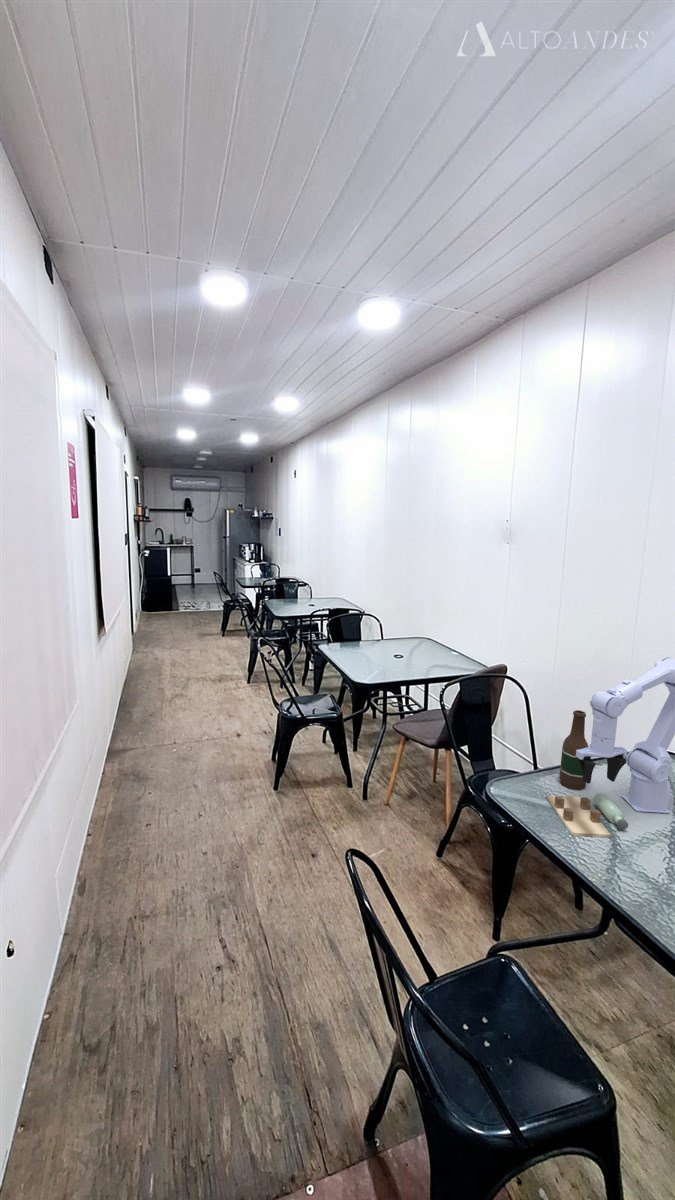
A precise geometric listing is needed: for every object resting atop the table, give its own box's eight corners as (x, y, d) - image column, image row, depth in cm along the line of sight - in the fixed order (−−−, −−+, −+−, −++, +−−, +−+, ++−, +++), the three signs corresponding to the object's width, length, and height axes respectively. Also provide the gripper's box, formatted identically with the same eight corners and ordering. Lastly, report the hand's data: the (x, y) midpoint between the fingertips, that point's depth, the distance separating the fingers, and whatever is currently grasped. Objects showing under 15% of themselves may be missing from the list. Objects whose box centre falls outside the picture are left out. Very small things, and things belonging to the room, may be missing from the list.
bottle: (606, 806, 140) (608, 793, 139) (630, 832, 127) (631, 818, 127) (592, 805, 140) (594, 792, 139) (614, 831, 127) (616, 817, 127)
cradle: (580, 799, 142) (581, 788, 142) (610, 837, 125) (612, 824, 124) (545, 797, 143) (546, 786, 142) (571, 835, 125) (573, 822, 125)
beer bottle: (562, 775, 157) (569, 705, 153) (588, 783, 152) (596, 711, 148) (555, 784, 151) (562, 711, 147) (582, 793, 146) (590, 718, 142)
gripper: (616, 728, 138) (611, 772, 140) (570, 730, 136) (566, 775, 138) (635, 738, 131) (629, 784, 133) (587, 741, 129) (582, 788, 131)
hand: (598, 780), depth 135 cm, fingers open, 7 cm apart
